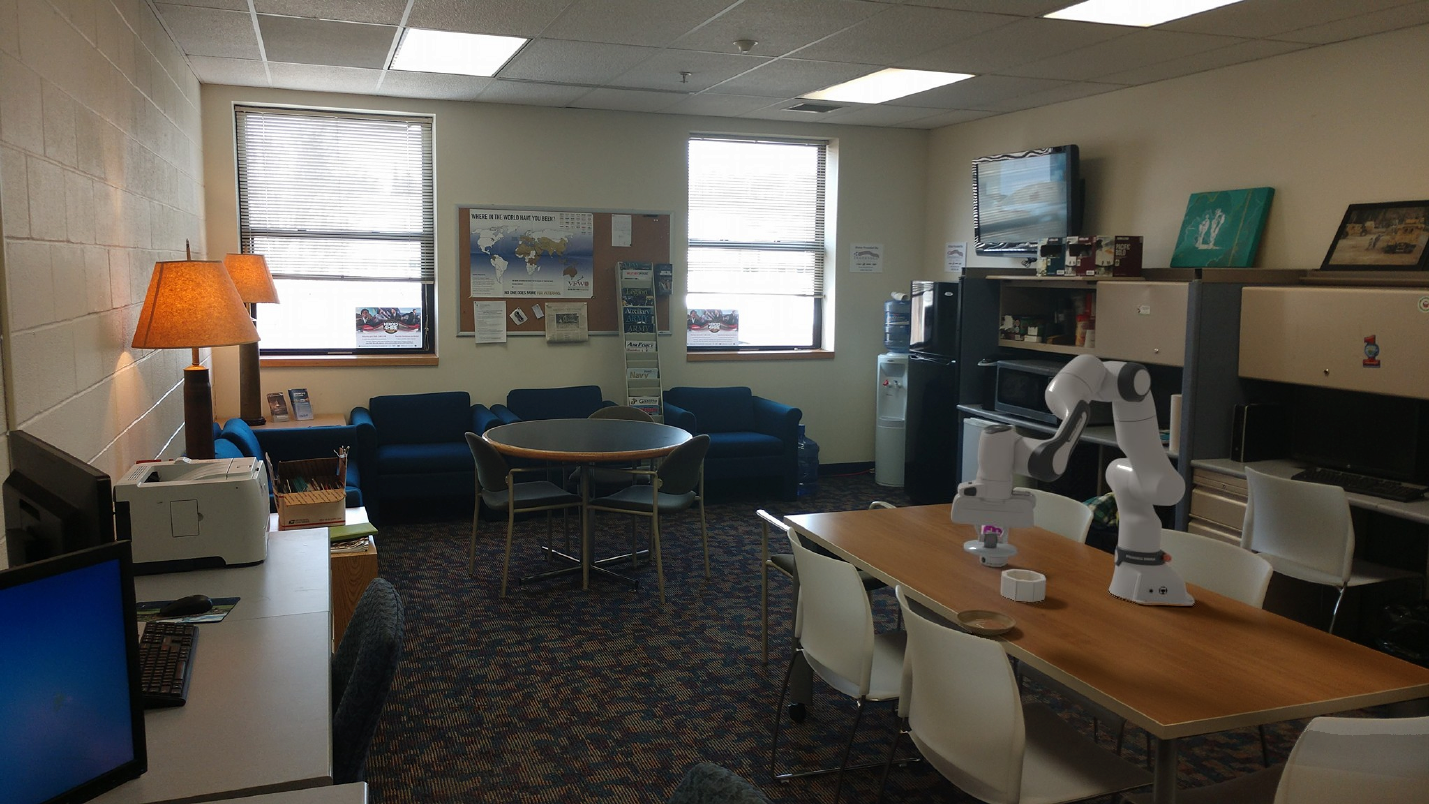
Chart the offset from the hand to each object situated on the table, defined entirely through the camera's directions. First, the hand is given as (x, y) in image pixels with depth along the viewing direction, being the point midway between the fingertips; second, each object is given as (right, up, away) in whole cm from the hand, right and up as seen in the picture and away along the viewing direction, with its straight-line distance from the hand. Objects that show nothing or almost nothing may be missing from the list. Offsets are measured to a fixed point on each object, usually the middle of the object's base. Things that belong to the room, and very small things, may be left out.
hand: (990, 542), depth 244 cm
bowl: (+18, -20, +29) cm, 39 cm away
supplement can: (+18, -16, +61) cm, 65 cm away
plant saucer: (-1, -23, +3) cm, 23 cm away
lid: (0, -2, 0) cm, 2 cm away
